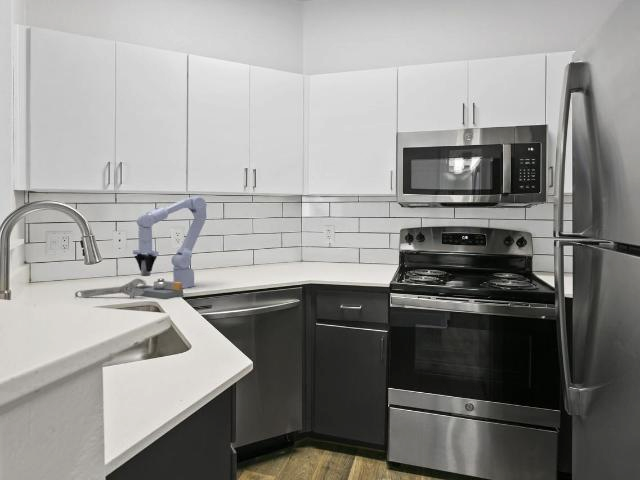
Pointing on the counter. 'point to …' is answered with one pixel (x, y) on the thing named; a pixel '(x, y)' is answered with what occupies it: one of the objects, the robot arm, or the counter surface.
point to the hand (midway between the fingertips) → (145, 271)
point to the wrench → (115, 290)
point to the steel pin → (144, 269)
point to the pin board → (159, 292)
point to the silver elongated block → (167, 285)
